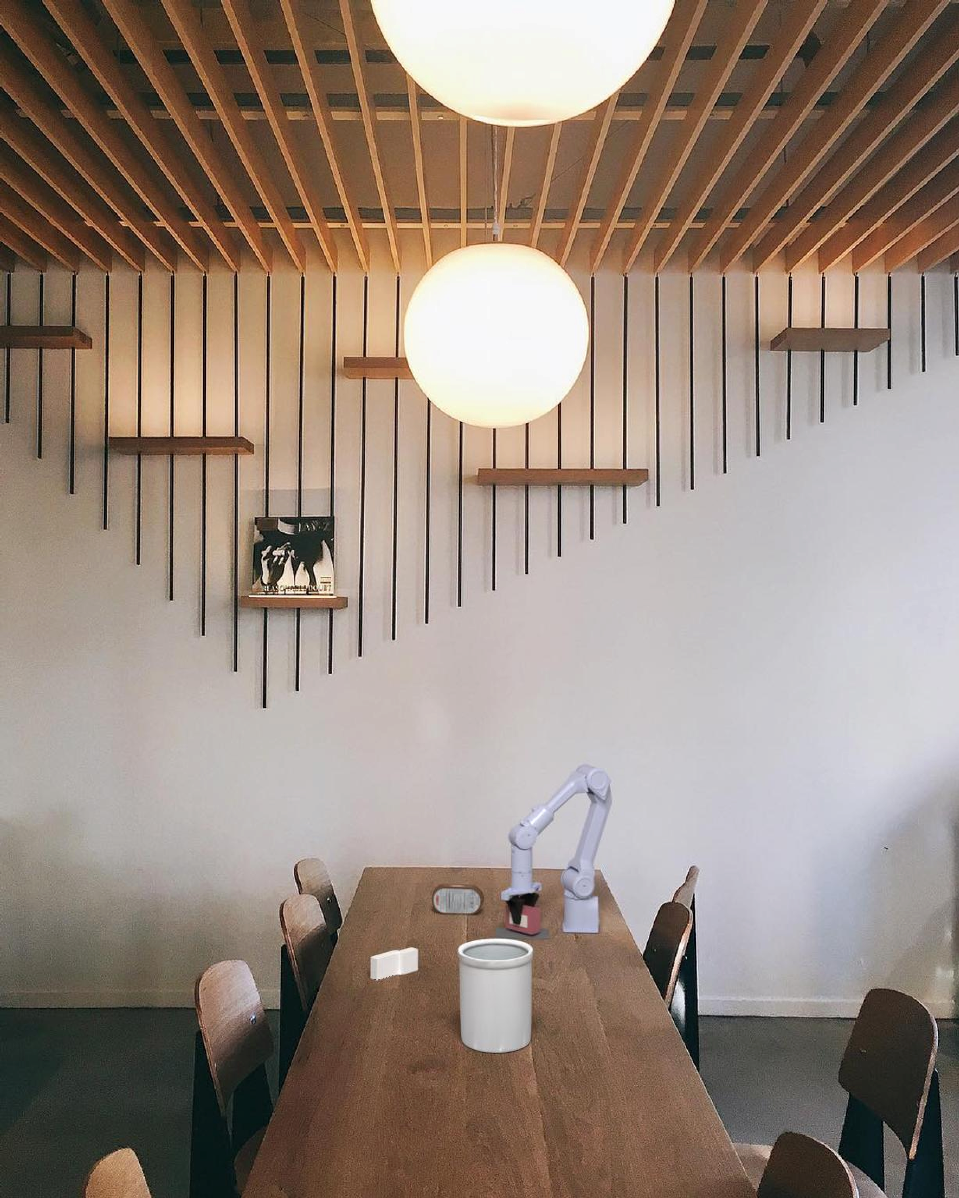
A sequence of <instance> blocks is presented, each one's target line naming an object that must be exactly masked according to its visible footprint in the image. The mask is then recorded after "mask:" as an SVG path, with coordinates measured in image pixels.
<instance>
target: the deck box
mask: <svg viewBox="0 0 959 1198" xmlns="http://www.w3.org/2000/svg"><path fill="white" fill-rule="evenodd" d="M505 928H509V929H513V930H516V931H520V932H524V933H527V934H531V935H532V934H535V933H538V932H540V929H541V908H538V907H535V906H534V907H531V906H526V905H523V908H522V917H521V923H520V925H517V924H513V920H512V916H511V912H510V909H509V907H508V905H507V904H506V905H505Z"/></svg>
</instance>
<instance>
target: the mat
mask: <svg viewBox="0 0 959 1198" xmlns="http://www.w3.org/2000/svg"><path fill="white" fill-rule="evenodd" d="M494 939H512V940H518V939H522V940H525V939H526V940H528V939H529V940H549V928H540V932H538V933H535V934H532V935H531V934H527V933H524V932H520V931H516V930H513V929H509V928H506V927H496V928H495V933H494Z"/></svg>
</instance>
